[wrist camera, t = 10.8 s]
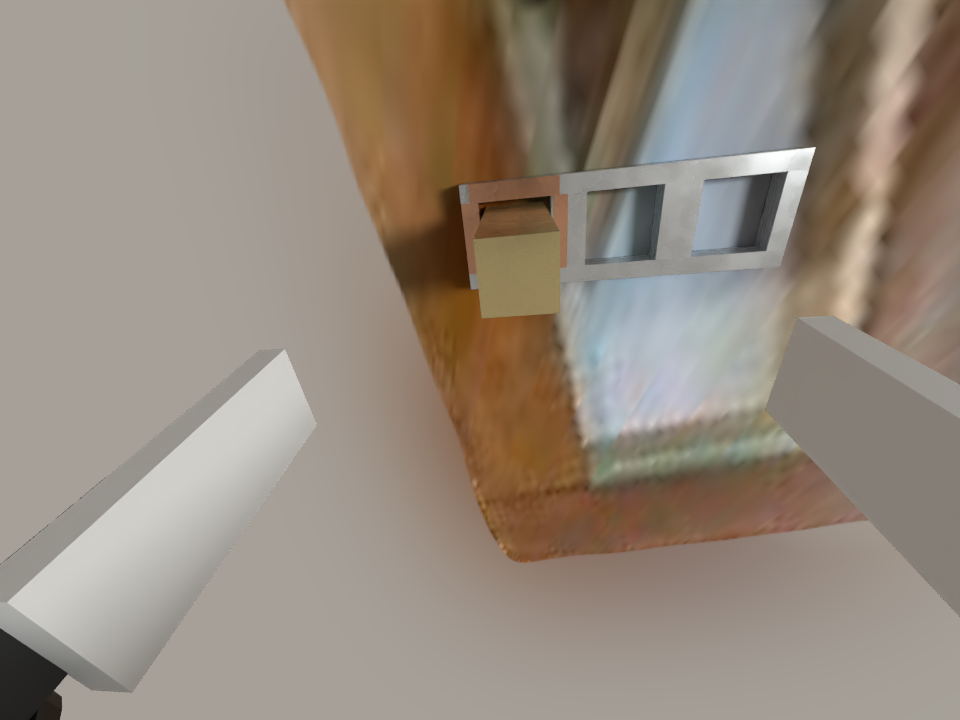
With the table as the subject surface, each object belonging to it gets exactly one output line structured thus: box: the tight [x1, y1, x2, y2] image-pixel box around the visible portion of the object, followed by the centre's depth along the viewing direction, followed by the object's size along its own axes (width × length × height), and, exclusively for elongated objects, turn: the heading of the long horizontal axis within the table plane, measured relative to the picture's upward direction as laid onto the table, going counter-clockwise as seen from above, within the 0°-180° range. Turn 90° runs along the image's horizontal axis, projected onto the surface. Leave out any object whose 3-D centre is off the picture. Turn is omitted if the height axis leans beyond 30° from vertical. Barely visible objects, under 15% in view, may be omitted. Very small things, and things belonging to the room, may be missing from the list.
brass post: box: [473, 201, 560, 318], centre depth 25 cm, size 4×4×12 cm
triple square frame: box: [459, 147, 815, 289], centre depth 29 cm, size 8×24×2 cm, turn 96°
